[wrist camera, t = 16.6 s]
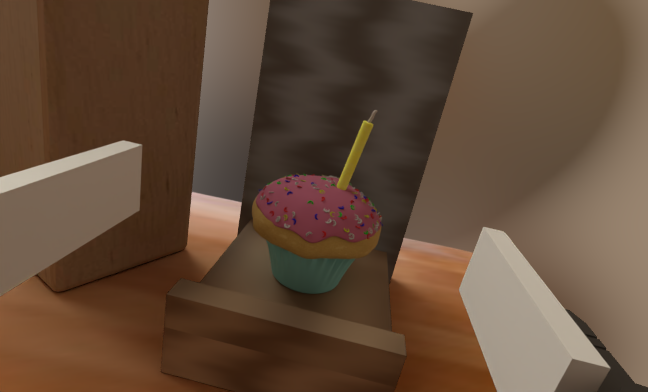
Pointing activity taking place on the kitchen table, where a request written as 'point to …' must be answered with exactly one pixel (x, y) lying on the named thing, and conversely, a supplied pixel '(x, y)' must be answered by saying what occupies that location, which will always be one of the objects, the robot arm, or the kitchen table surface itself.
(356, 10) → the wooden bookend
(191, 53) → the wooden block
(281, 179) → the cupcake
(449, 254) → the kitchen table surface
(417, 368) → the kitchen table surface
